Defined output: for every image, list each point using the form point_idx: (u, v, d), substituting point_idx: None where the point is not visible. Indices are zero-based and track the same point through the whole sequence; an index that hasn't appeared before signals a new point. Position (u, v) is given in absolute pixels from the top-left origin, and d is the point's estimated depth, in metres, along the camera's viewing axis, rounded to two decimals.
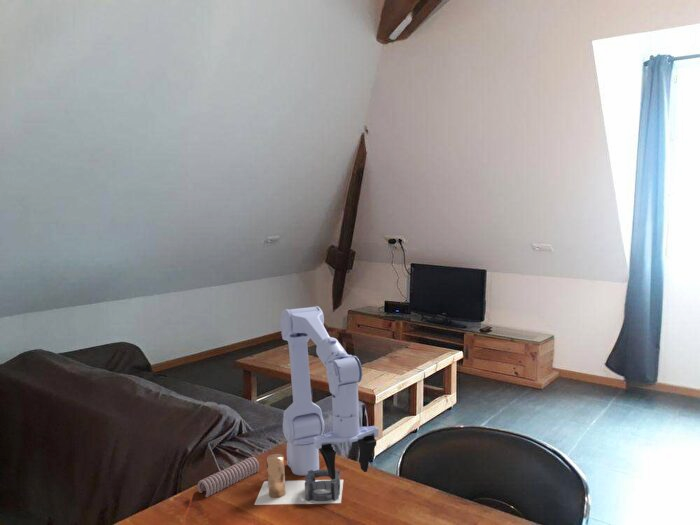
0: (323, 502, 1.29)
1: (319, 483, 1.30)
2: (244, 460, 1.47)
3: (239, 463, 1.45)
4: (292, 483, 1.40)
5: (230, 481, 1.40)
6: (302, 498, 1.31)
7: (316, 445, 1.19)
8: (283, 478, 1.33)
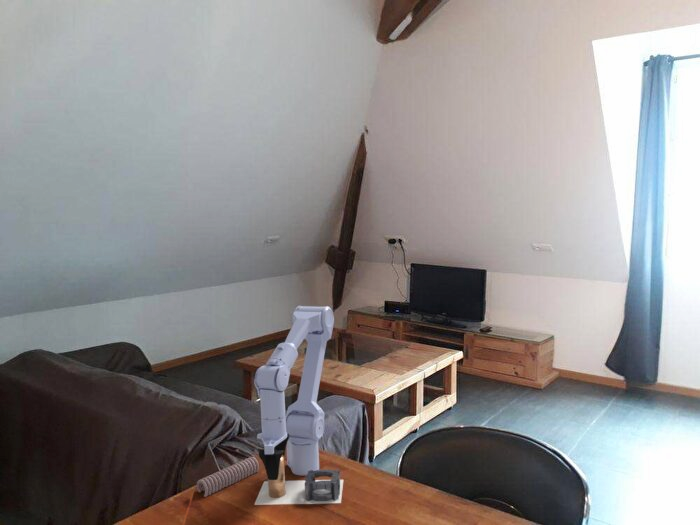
0: (323, 502, 1.29)
1: (319, 483, 1.30)
2: (244, 460, 1.47)
3: (239, 463, 1.45)
4: (292, 483, 1.40)
5: (229, 481, 1.40)
6: (302, 498, 1.31)
7: None
8: (283, 478, 1.33)
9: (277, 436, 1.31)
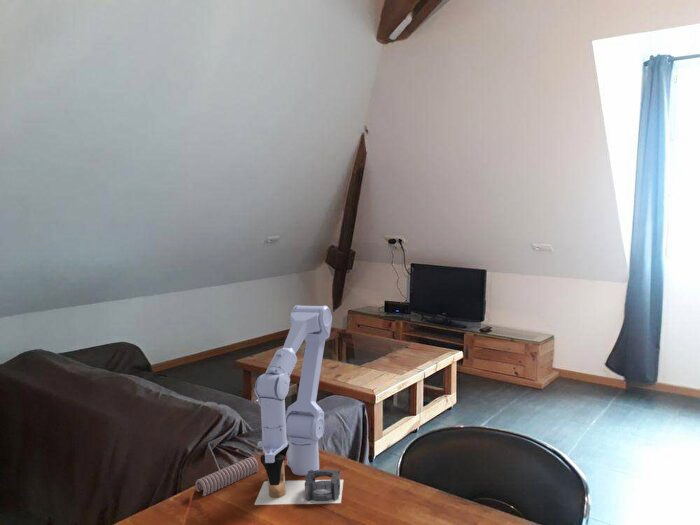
0: (323, 502, 1.29)
1: (319, 483, 1.30)
2: (243, 460, 1.47)
3: (238, 463, 1.46)
4: (292, 483, 1.40)
5: (228, 481, 1.40)
6: (302, 498, 1.31)
7: None
8: (283, 478, 1.33)
9: (277, 444, 1.31)
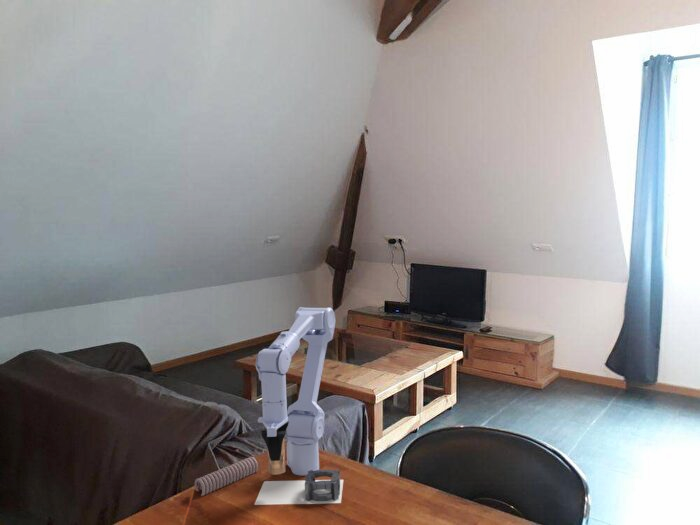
0: (323, 502, 1.29)
1: (319, 483, 1.30)
2: (243, 460, 1.47)
3: (238, 463, 1.46)
4: (292, 483, 1.40)
5: (227, 480, 1.40)
6: (302, 498, 1.31)
7: None
8: (283, 454, 1.33)
9: (279, 419, 1.30)
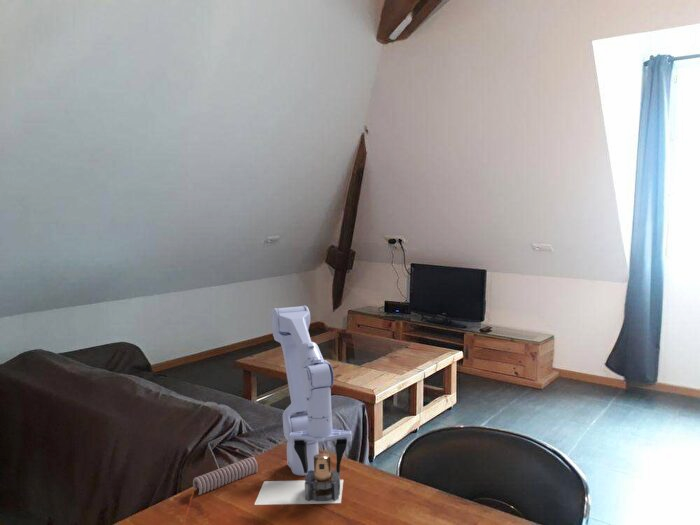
0: (323, 502, 1.29)
1: (319, 483, 1.30)
2: (243, 460, 1.48)
3: (237, 462, 1.46)
4: (292, 483, 1.40)
5: (225, 480, 1.40)
6: (302, 498, 1.31)
7: (290, 439, 1.33)
8: None
9: None
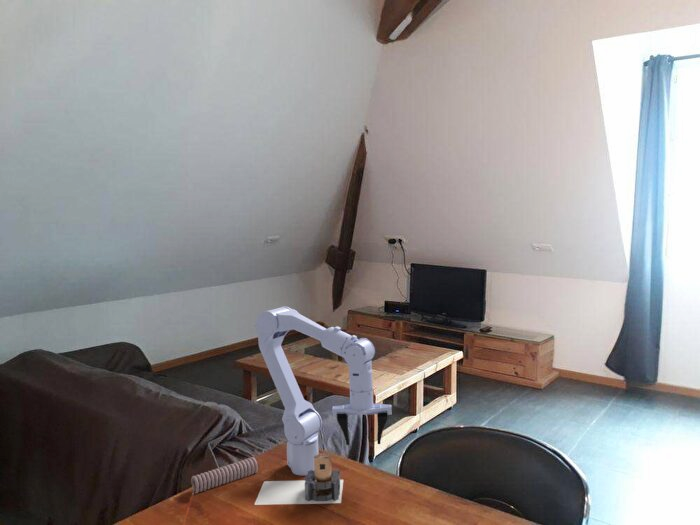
0: (323, 502, 1.29)
1: (319, 483, 1.30)
2: (244, 460, 1.47)
3: (237, 462, 1.46)
4: (292, 483, 1.40)
5: (223, 480, 1.41)
6: (302, 498, 1.31)
7: None
8: None
9: None
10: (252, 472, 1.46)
